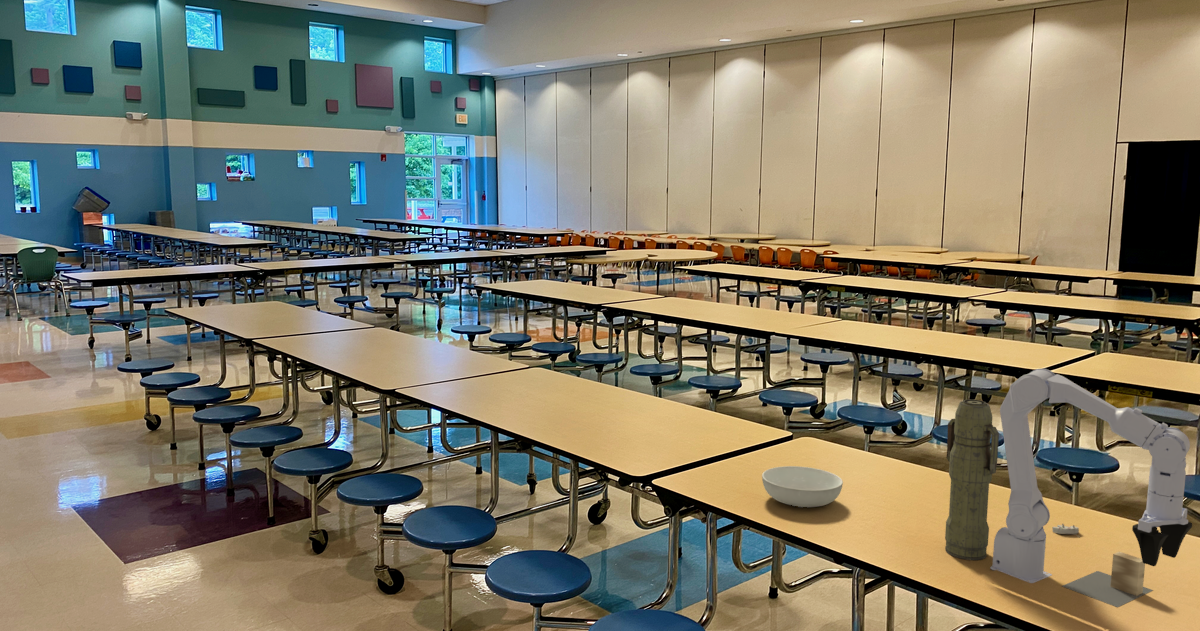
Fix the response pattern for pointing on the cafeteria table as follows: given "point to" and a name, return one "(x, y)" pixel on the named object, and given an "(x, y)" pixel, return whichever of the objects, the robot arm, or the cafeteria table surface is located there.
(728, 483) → the cafeteria table surface
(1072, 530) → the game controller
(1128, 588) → the green-faced wooden block
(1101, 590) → the rubber mat
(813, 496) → the serving bowl
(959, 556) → the thermos
